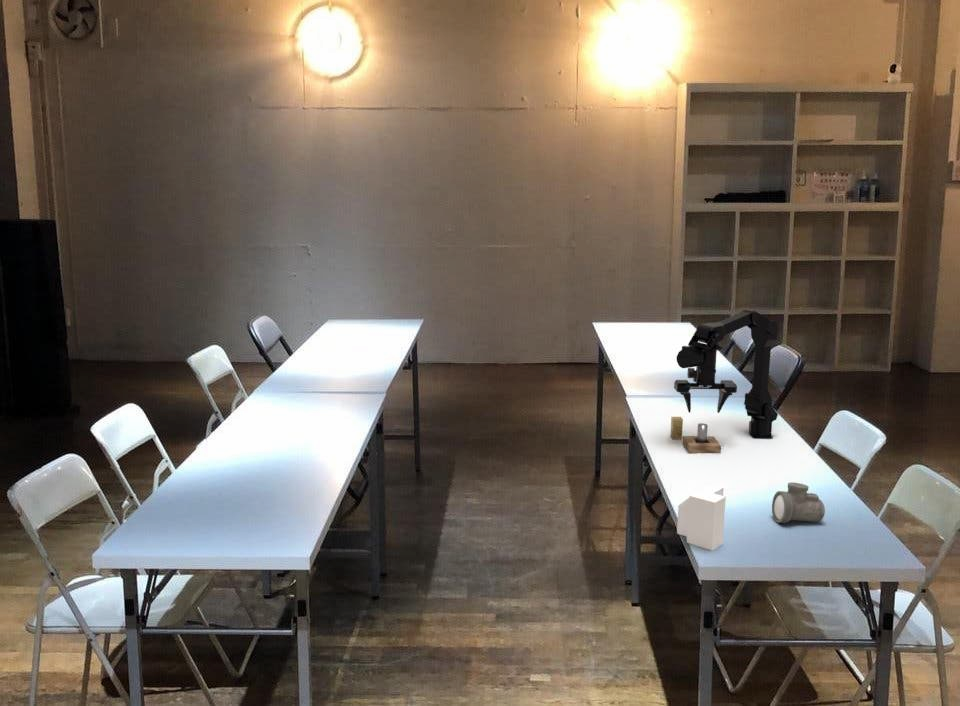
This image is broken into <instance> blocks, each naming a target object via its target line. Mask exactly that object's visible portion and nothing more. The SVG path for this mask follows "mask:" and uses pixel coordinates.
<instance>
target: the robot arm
mask: <svg viewBox="0 0 960 706" xmlns="http://www.w3.org/2000/svg"><path fill="white" fill-rule="evenodd" d="M745 327H748V328H749V329H750V337H751V340H752V341H753V344H754V357H753V370H752V371H753V372H752V386H751V389H750V390H749V391H748V392H745V394H744V403H743V405H744V409H745V412H746V415H747V417H750V420H749V422H748V434H749V435H750V436H751V437H752V438H753V439H773V435H772V431H773V430H772V429H773V428H772V427H773V422H774V421H776V420H777V418H778V415H779V414H778V412H777V411H776V409H775V408H774V407H773V399H772V395H771V393H770V392H769V376H770V363H771V352H772V346H773V345H774V343H775V342H776V341H777V339H778V333H779V324H778V323H777V321H775V320H771V319H769V318H767V317H766V316H763V315H761V313H759V312H758V311H756V310H753V309H742V311H741V312H739V313H736V314H734V315H731V316H729V317H727V318H724V319H723V320H719V321H717V322H707V323H701V324H699V325H698V326H697V327H696V330H695V331H694V333H693V335H692V337H691V339H690V341H689V342H688V344H687V345H682V346H681V350H679V351H678V353H677V355H676V363H677V365H678V367H680V368H681V369H687V378H688V379H692V381H693V382H689V381H688V380H687V379H675V381H674V383H673V388H674V390H675V391H676V392H677V393H679V394H680V395H681V396H683V398H684V401H685V406H686V408H687V411H688V413H691V409H692V407H691V405H692V404H691V401H692V400H691V399H692V398H691V396H692V395H691V392H690V391H691V390H718V401H717V409H716V412H717V413H718V414H720V412H721V411H722V408H723V406H724V404H725V403H726V401H727V400H728V398H729V397H730V396H733V393H734V394H735V393H737V391H738V385H737V384H736V383H735V382H734V381H733V380H731V379H730V380H729V379H728V380H727V379H726V380H725V379H724V380H723V379H721V380H720V383H719V382H716V373H717V366H716V365H717V353H718V352H717V351H721V350H723V347H721V345H719V344H720V342H722V341H724V339H725V337H726V336H727V335H729V334H732V333H733V332H736V331H738V330H740V329H743V328H745Z"/></svg>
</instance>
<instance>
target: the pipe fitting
mask: <svg viewBox="0 0 960 706" xmlns="http://www.w3.org/2000/svg"><path fill="white" fill-rule="evenodd" d="M809 488H810V487H809V486H808V485H806V484H803V483H799V482H791V481H790V482H787V491H785V490H784V491H783V490H782V491H781V490H778V491H776V492H775V494H774V496H773V498H772V503H771V513H772V517H773V520H774V522H776V523H777V524H787V523H789V522H790V521H791V520H792V521H800V522H801V521H802V522H811V523H820V522H821V521H822V520H823V519H824V517H825V514H826V509H825V505H824V503H823V501H822V500H821V499H819V498H820V497H819V495H818V494H817V493H813V492H809Z"/></svg>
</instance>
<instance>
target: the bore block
mask: <svg viewBox="0 0 960 706" xmlns="http://www.w3.org/2000/svg"><path fill="white" fill-rule="evenodd" d="M682 445H683V447H684V448H685V450H686V452H687V453H688V454H697V453H722V445H721V444H720V443H719V441H718V440H717V438H716V437H715V436H708V435H707V443H697V435H696V436H695V435H693V436H690V435H689V436H688V435H682Z"/></svg>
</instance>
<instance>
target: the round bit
mask: <svg viewBox="0 0 960 706" xmlns="http://www.w3.org/2000/svg"><path fill="white" fill-rule="evenodd" d="M708 427H709V425H708V423H701V422H700V423H697V435H696V436H697V443H707V436H708Z"/></svg>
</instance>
